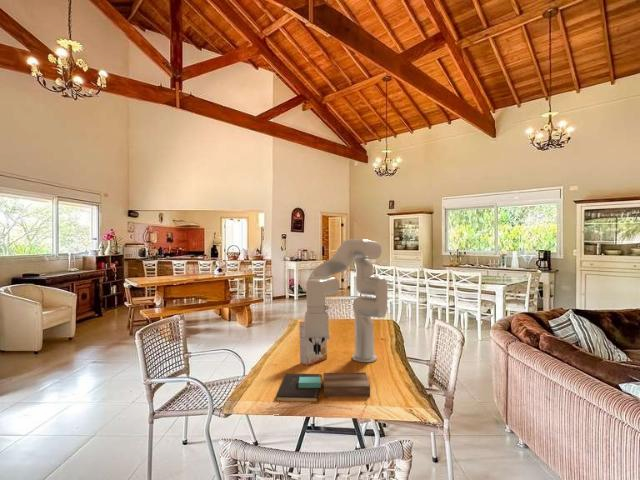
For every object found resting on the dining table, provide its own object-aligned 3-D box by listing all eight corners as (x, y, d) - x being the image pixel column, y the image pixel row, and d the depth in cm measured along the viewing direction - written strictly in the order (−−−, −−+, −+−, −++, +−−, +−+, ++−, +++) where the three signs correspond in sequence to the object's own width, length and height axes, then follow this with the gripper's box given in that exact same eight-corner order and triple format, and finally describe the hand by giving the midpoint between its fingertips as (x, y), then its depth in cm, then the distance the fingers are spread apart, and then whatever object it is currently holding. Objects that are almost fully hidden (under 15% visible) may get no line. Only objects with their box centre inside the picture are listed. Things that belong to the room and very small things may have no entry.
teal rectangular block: (299, 381, 148) (299, 376, 148) (321, 381, 148) (321, 376, 148) (298, 387, 142) (298, 382, 142) (320, 387, 142) (320, 382, 142)
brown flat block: (323, 382, 152) (323, 372, 152) (365, 381, 152) (365, 372, 151) (324, 396, 138) (323, 386, 138) (370, 396, 138) (370, 386, 137)
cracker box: (319, 356, 185) (319, 316, 185) (327, 359, 180) (327, 318, 180) (299, 363, 175) (298, 321, 175) (307, 366, 171) (307, 323, 170)
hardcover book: (275, 402, 135) (275, 396, 135) (285, 378, 158) (285, 373, 158) (317, 403, 134) (317, 397, 134) (321, 379, 157) (321, 373, 157)
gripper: (333, 306, 148) (335, 349, 149) (298, 307, 148) (299, 350, 149) (334, 310, 141) (335, 356, 141) (297, 311, 141) (298, 357, 141)
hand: (317, 353), depth 145 cm, fingers closed
